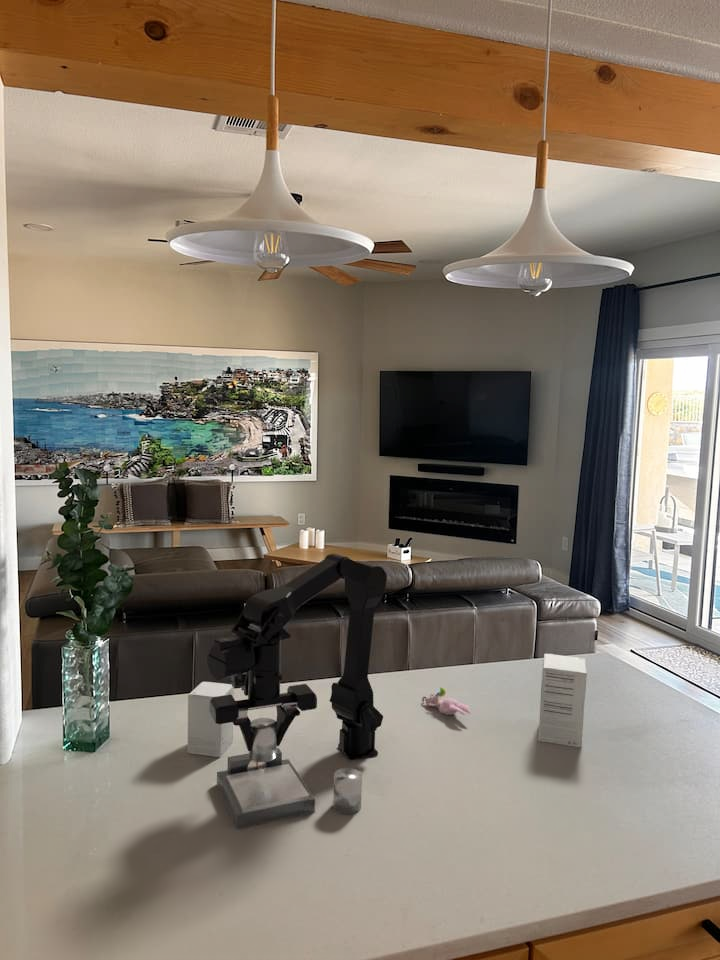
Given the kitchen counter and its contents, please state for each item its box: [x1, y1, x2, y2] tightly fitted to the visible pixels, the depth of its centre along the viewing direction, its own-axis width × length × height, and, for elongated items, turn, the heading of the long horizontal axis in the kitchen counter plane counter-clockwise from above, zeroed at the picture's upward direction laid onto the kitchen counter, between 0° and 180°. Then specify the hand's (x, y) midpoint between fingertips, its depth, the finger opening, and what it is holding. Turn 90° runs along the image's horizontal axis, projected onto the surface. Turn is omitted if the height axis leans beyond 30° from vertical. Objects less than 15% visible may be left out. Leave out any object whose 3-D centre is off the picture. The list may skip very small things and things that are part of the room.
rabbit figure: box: [421, 687, 472, 716], centre depth 168 cm, size 6×6×15 cm
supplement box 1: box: [186, 681, 235, 758], centre depth 148 cm, size 7×7×13 cm
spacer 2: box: [332, 767, 363, 816], centre depth 128 cm, size 5×5×6 cm
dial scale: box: [216, 747, 316, 829], centre depth 130 cm, size 14×15×5 cm
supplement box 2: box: [538, 653, 588, 748], centre depth 158 cm, size 10×9×17 cm
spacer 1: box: [248, 717, 278, 762], centre depth 131 cm, size 5×5×6 cm
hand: (263, 747), depth 131 cm, fingers closed on spacer 1, 5 cm apart
